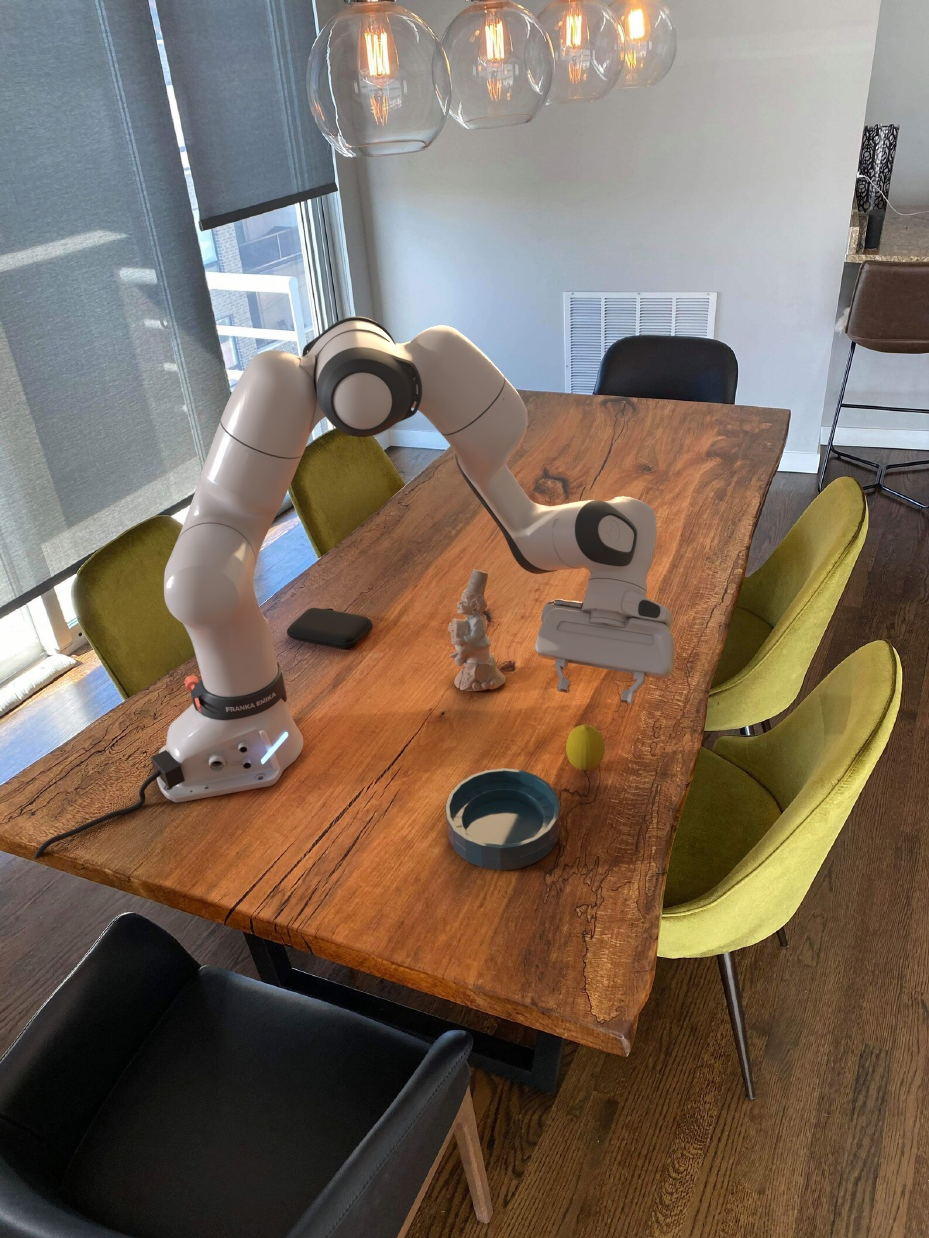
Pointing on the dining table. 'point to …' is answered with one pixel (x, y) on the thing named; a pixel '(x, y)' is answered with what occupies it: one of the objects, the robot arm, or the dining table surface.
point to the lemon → (585, 747)
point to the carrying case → (330, 628)
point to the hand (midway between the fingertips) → (594, 697)
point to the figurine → (474, 640)
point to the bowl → (503, 818)
